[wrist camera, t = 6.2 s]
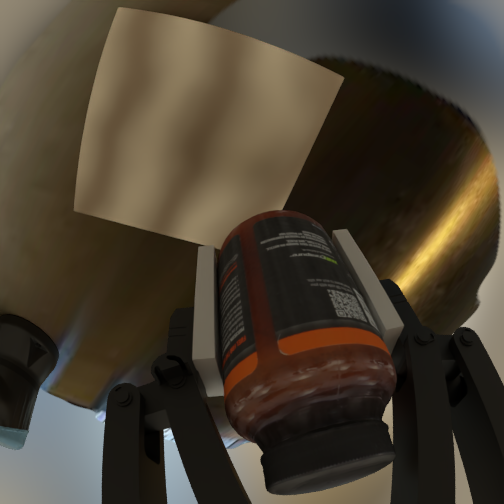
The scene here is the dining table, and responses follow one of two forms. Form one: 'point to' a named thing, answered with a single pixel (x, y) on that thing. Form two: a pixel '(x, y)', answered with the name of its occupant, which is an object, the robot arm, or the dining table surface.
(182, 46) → the footstool
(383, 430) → the supplement bottle
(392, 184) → the dining table surface
